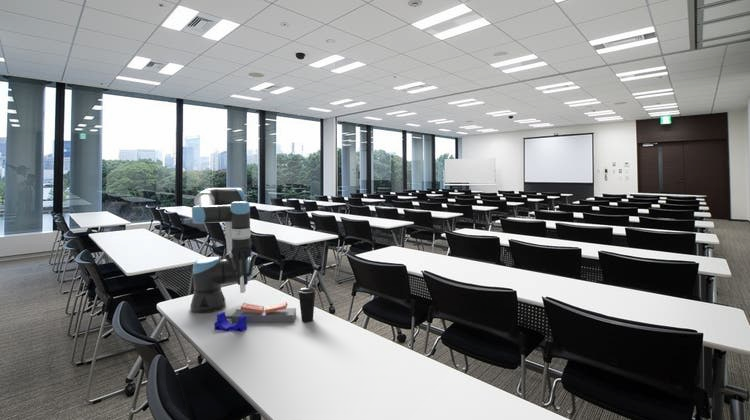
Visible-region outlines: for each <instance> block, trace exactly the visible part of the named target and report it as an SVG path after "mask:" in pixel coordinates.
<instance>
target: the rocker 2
mask: <svg viewBox="0 0 750 420" xmlns="http://www.w3.org/2000/svg"><path fill="white" fill-rule="evenodd" d="M286 308H288V302H287V301H286V302H282V303H277V304H272V305H268V306H266V307H265V308H264V309H265V313H269V312H274V311H278V310H283V309H286Z"/></svg>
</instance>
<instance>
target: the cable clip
mask: <svg viewBox="0 0 750 420" xmlns="http://www.w3.org/2000/svg"><path fill="white" fill-rule="evenodd" d="M226 316H227V315H226V312H224V311H221V312H219V313H217V314H216V322H214V330H215V331H219V332H226V333H227V332H229V331H234V332H240V333H243V332H245V331H247V330H248V329H247V328H248V326H247V325H248V323H247V322H246V315H242V316H241V317H239V318H238V323H237V324H232V323H231V321H229V319H227V318H226Z"/></svg>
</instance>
